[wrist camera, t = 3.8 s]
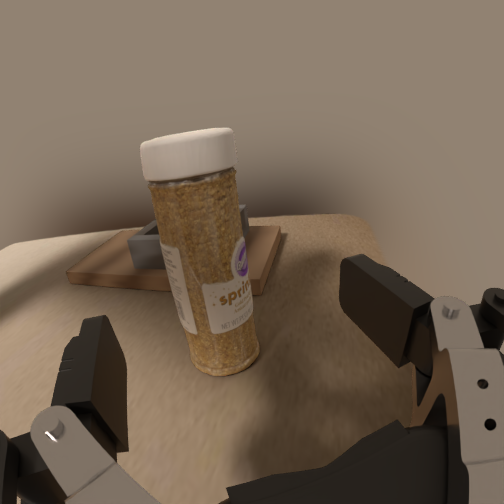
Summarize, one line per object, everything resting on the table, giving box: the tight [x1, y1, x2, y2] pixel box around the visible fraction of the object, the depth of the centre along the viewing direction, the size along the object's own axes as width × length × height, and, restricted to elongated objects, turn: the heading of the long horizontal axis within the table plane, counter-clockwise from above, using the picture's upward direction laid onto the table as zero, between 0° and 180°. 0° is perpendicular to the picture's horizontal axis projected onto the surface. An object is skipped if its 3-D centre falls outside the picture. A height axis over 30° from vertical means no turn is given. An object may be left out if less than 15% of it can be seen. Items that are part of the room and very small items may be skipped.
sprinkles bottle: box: [140, 128, 259, 376], centre depth 16 cm, size 5×5×13 cm
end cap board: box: [66, 205, 281, 295], centre depth 32 cm, size 22×12×4 cm, turn 77°
